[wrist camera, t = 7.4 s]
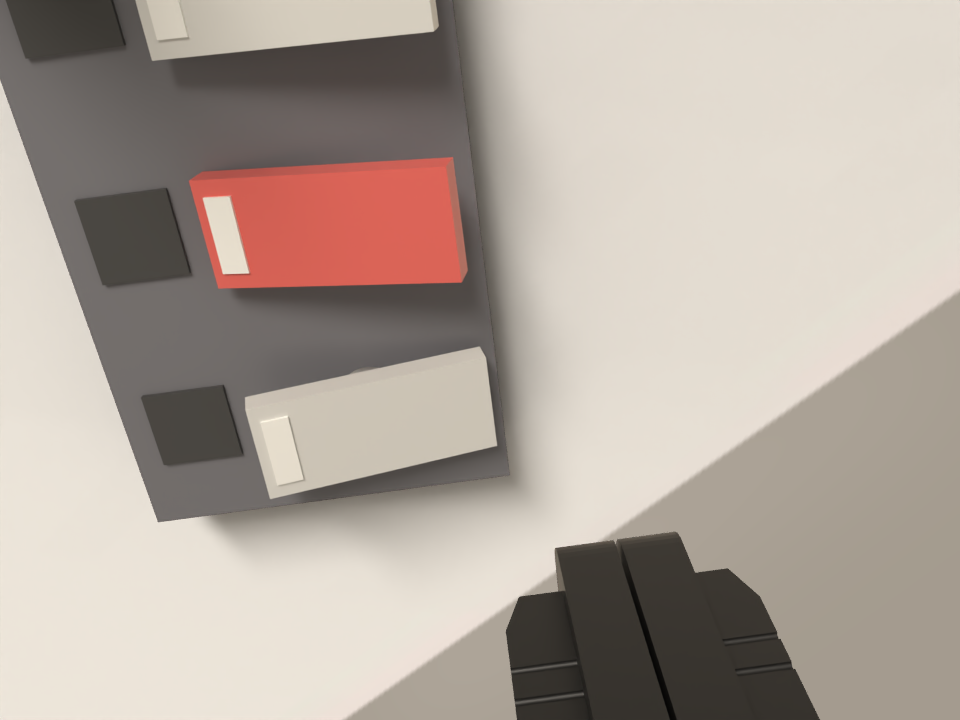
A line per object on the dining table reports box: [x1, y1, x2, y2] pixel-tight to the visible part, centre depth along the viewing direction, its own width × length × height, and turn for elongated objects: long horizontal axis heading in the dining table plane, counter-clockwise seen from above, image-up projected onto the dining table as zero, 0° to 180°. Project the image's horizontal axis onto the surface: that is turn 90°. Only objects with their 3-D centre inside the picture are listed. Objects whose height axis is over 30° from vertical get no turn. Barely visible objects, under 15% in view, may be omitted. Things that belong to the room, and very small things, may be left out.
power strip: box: [0, 0, 510, 522], centre depth 34 cm, size 15×25×4 cm, turn 7°
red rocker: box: [189, 157, 468, 289], centre depth 31 cm, size 9×4×2 cm, turn 96°
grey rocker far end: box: [245, 346, 497, 499], centre depth 35 cm, size 9×4×2 cm, turn 97°
